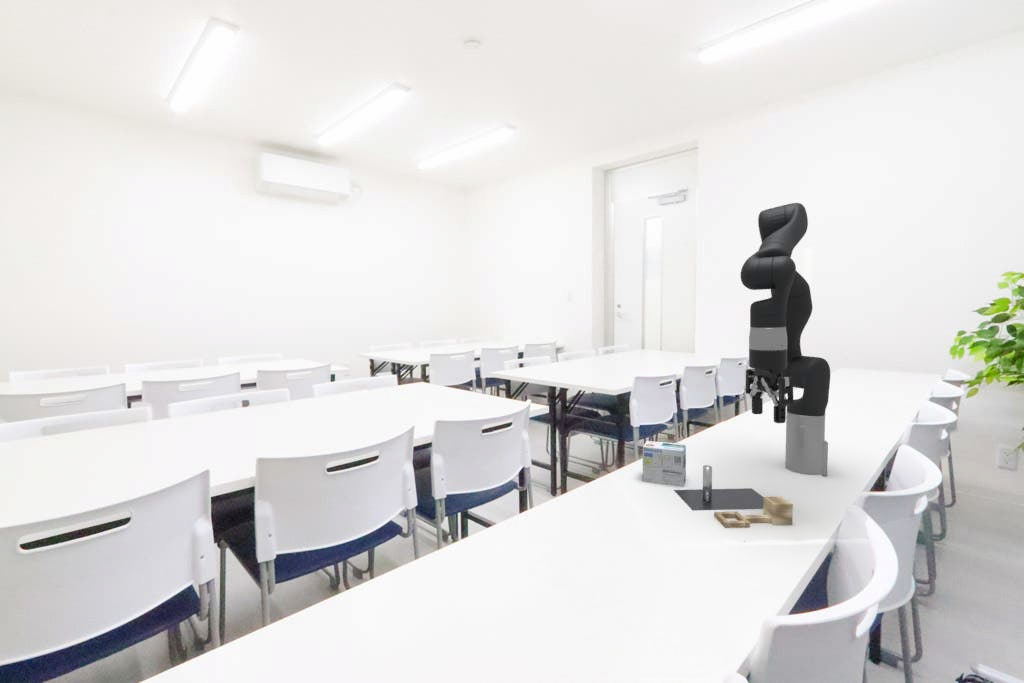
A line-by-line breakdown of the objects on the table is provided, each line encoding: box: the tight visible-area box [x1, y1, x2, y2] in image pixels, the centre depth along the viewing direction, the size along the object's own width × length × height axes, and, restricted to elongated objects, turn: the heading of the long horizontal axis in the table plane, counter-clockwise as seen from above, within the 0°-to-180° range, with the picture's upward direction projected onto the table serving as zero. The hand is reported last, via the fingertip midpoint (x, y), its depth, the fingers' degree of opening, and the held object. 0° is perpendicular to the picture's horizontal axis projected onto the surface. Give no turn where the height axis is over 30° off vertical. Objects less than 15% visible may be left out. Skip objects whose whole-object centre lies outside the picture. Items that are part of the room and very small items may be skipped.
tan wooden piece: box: [713, 496, 794, 529], centre depth 100 cm, size 15×5×5 cm, turn 91°
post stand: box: [673, 464, 765, 511], centre depth 112 cm, size 20×12×9 cm, turn 91°
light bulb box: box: [642, 440, 687, 488], centre depth 125 cm, size 11×7×11 cm, turn 65°
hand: (767, 418), depth 105 cm, fingers open, 8 cm apart
